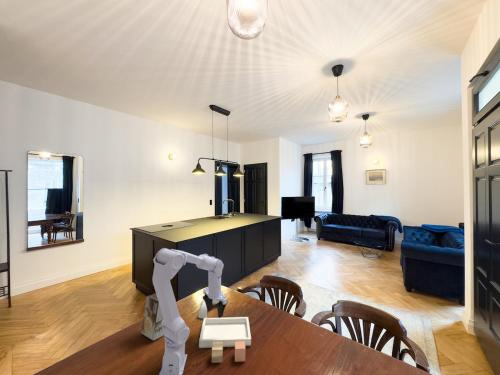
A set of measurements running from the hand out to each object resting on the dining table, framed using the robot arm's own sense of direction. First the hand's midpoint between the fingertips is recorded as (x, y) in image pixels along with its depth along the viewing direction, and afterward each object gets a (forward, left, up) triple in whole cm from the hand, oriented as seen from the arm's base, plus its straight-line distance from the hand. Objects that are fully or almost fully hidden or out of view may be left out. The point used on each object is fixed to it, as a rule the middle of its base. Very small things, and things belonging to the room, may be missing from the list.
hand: (215, 313), depth 99 cm
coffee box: (+1, +28, -9) cm, 29 cm away
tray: (0, -5, -10) cm, 11 cm away
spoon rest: (+23, +4, -10) cm, 26 cm away
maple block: (-14, -2, -10) cm, 17 cm away
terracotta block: (-14, -11, -10) cm, 21 cm away
